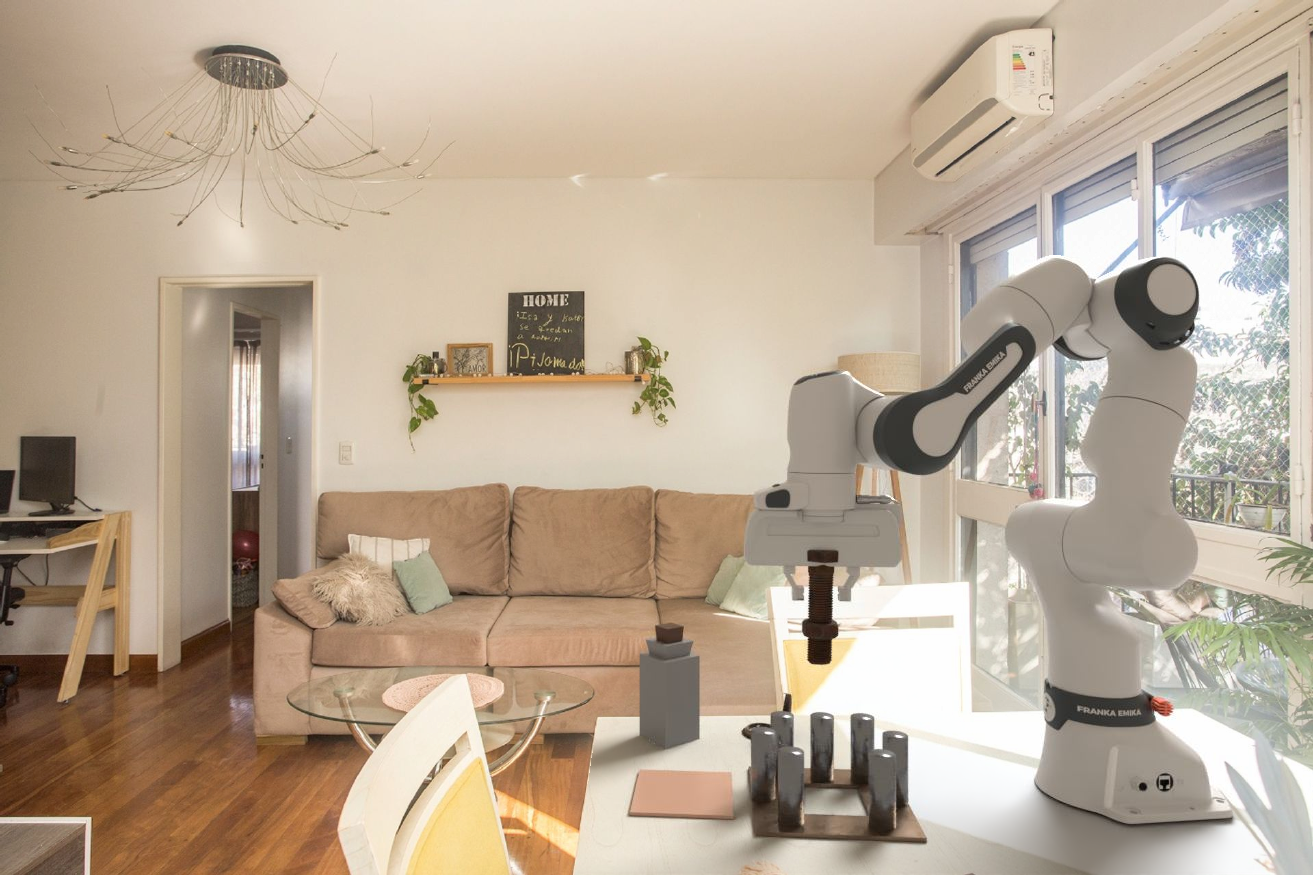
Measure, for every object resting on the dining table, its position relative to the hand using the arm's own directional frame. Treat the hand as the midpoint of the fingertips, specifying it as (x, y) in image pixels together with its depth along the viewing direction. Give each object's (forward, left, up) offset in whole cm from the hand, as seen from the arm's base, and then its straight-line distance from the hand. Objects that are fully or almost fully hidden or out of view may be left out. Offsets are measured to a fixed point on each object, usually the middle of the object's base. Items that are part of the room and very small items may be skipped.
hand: (820, 600), depth 103 cm
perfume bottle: (+21, -20, -26) cm, 39 cm away
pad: (+18, -1, -26) cm, 32 cm away
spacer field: (-1, 0, -26) cm, 26 cm away
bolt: (0, 0, -8) cm, 8 cm away
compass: (+6, -21, -27) cm, 35 cm away
